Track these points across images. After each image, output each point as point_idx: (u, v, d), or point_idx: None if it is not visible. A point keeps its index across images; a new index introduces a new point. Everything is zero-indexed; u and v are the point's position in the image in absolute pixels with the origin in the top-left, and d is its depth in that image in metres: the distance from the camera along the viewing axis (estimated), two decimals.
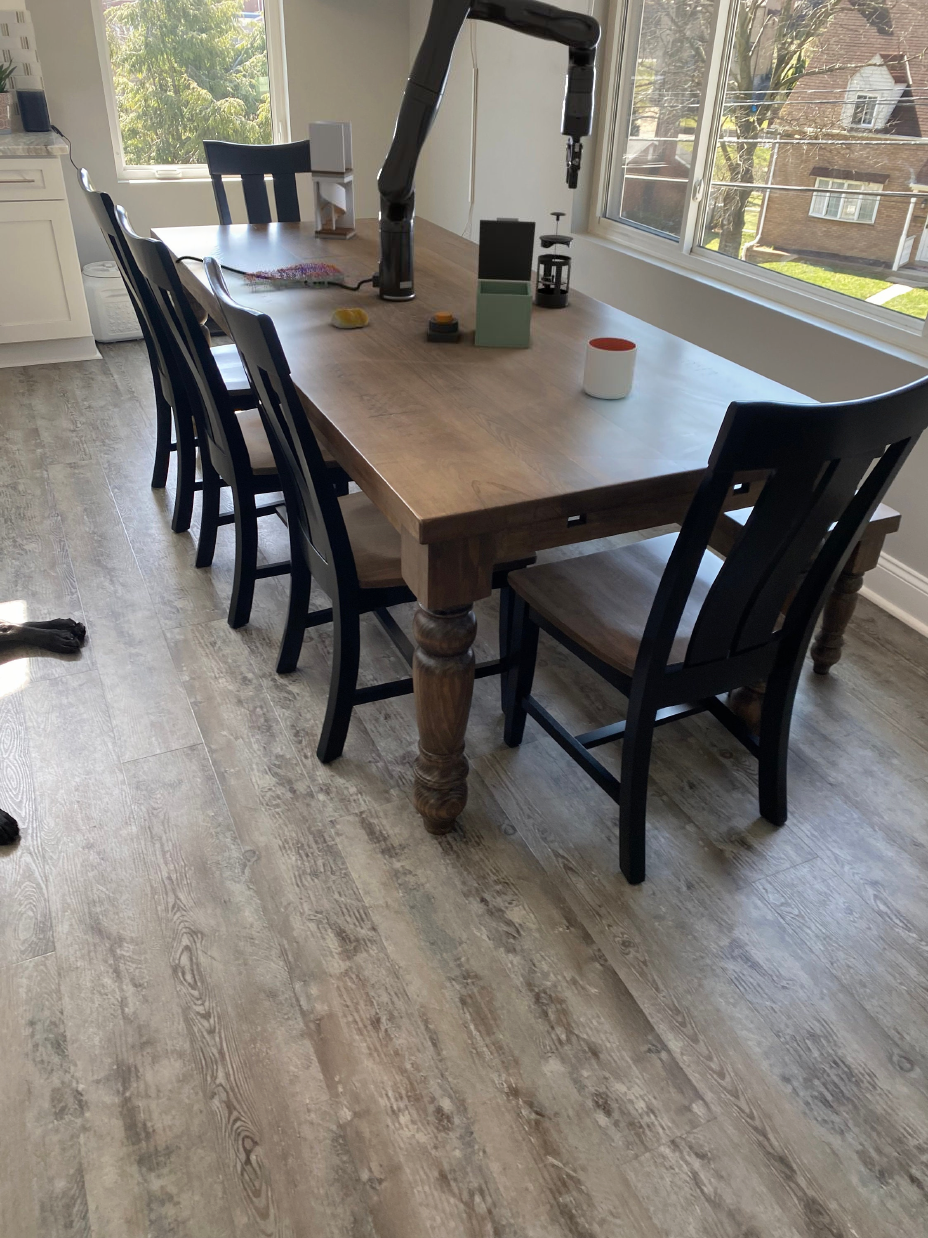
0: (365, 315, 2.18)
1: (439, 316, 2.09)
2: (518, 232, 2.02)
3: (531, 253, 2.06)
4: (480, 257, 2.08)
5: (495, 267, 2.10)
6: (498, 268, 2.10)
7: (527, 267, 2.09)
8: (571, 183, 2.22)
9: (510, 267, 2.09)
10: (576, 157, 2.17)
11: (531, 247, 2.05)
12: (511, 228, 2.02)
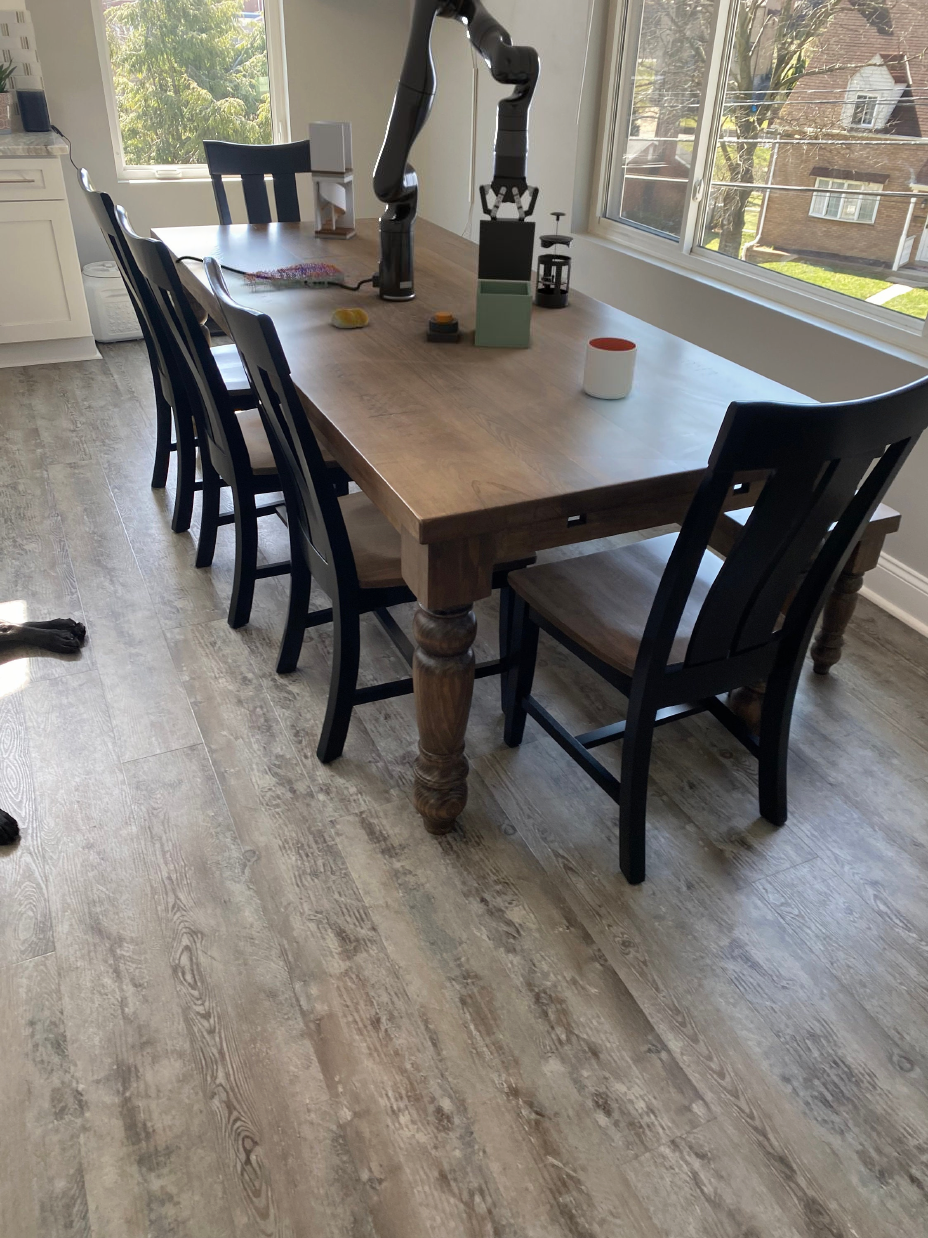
0: (365, 315, 2.18)
1: (439, 316, 2.09)
2: (518, 232, 2.02)
3: (531, 253, 2.06)
4: (480, 257, 2.08)
5: (495, 267, 2.10)
6: (498, 268, 2.10)
7: (527, 267, 2.09)
8: None
9: (510, 267, 2.09)
10: None
11: (531, 247, 2.05)
12: (511, 228, 2.02)
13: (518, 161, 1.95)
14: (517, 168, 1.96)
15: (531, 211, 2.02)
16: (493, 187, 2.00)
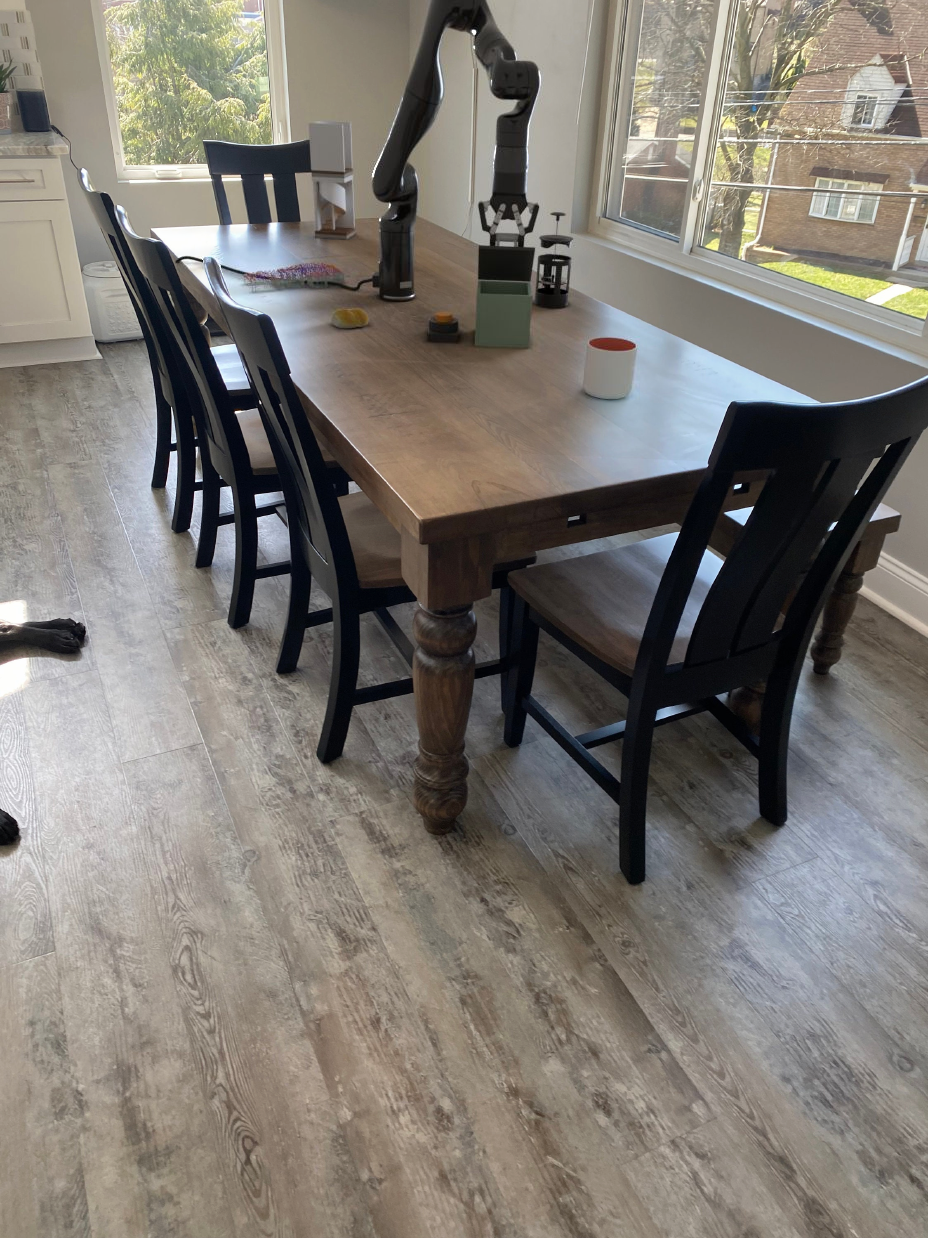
0: (365, 315, 2.18)
1: (439, 316, 2.09)
2: (517, 255, 2.00)
3: (531, 266, 2.05)
4: (480, 268, 2.07)
5: (495, 273, 2.09)
6: (498, 274, 2.09)
7: (527, 274, 2.09)
8: None
9: (510, 274, 2.09)
10: None
11: (531, 263, 2.04)
12: (510, 252, 1.99)
13: (517, 178, 1.91)
14: (517, 185, 1.91)
15: (531, 228, 1.98)
16: (492, 204, 1.96)
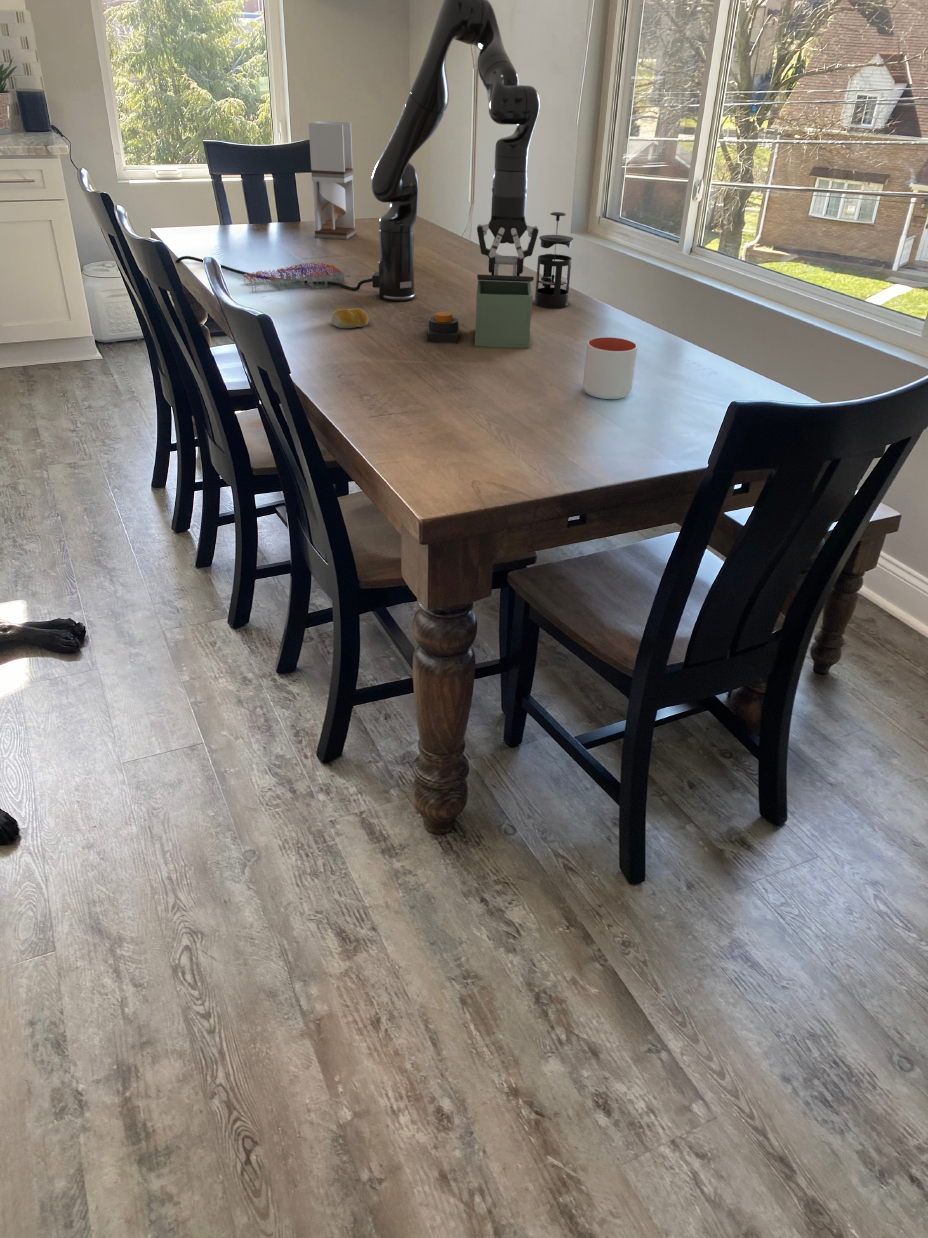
0: (365, 315, 2.18)
1: (439, 316, 2.09)
2: None
3: None
4: (479, 279, 2.07)
5: (495, 280, 2.09)
6: (497, 280, 2.10)
7: (526, 281, 2.09)
8: None
9: None
10: None
11: None
12: None
13: (516, 202, 1.90)
14: (516, 209, 1.91)
15: (530, 252, 1.97)
16: (491, 227, 1.95)
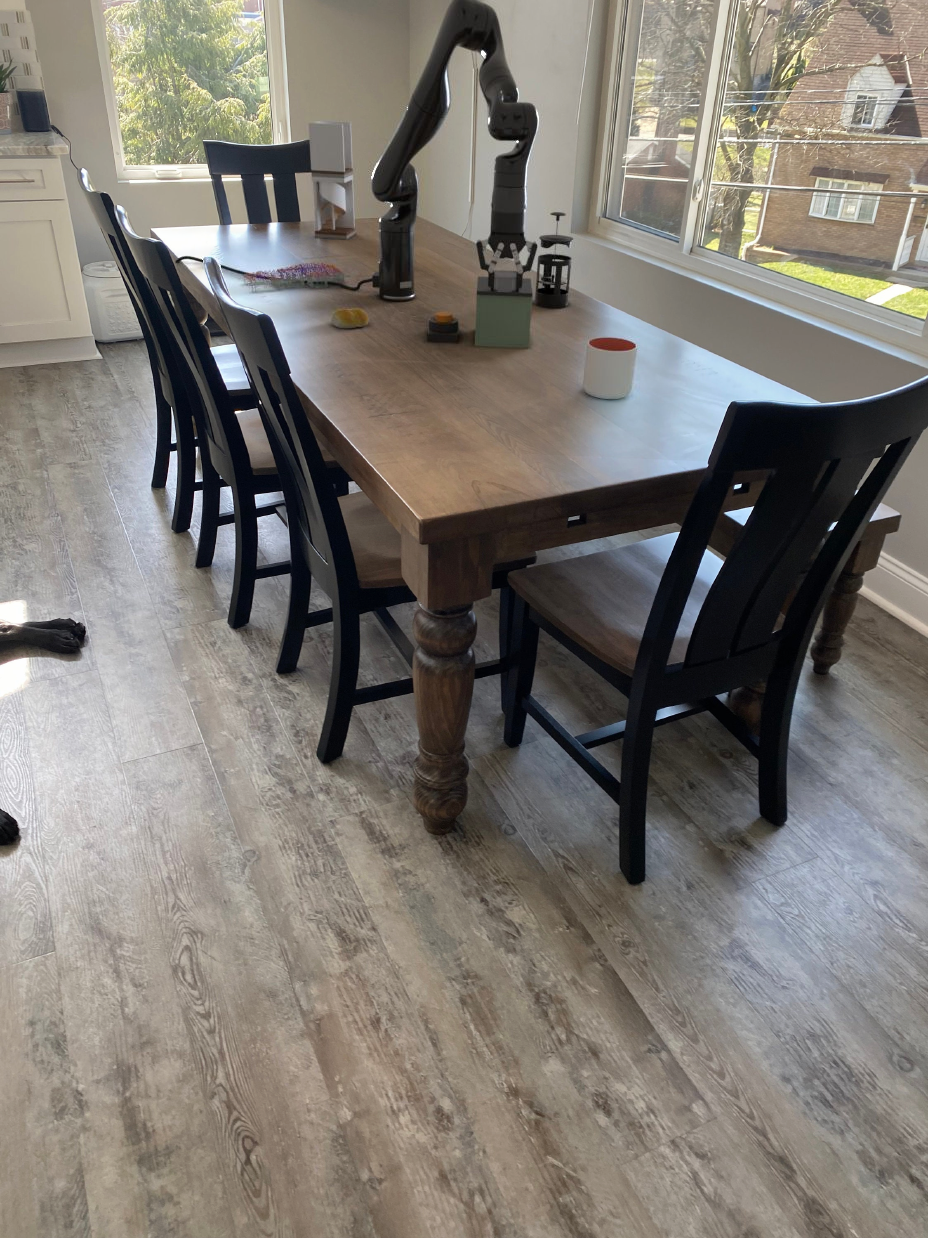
0: (365, 315, 2.18)
1: (439, 316, 2.09)
2: None
3: None
4: None
5: None
6: None
7: None
8: None
9: None
10: None
11: None
12: None
13: (515, 217, 1.91)
14: (515, 225, 1.91)
15: (529, 266, 1.98)
16: (491, 243, 1.96)
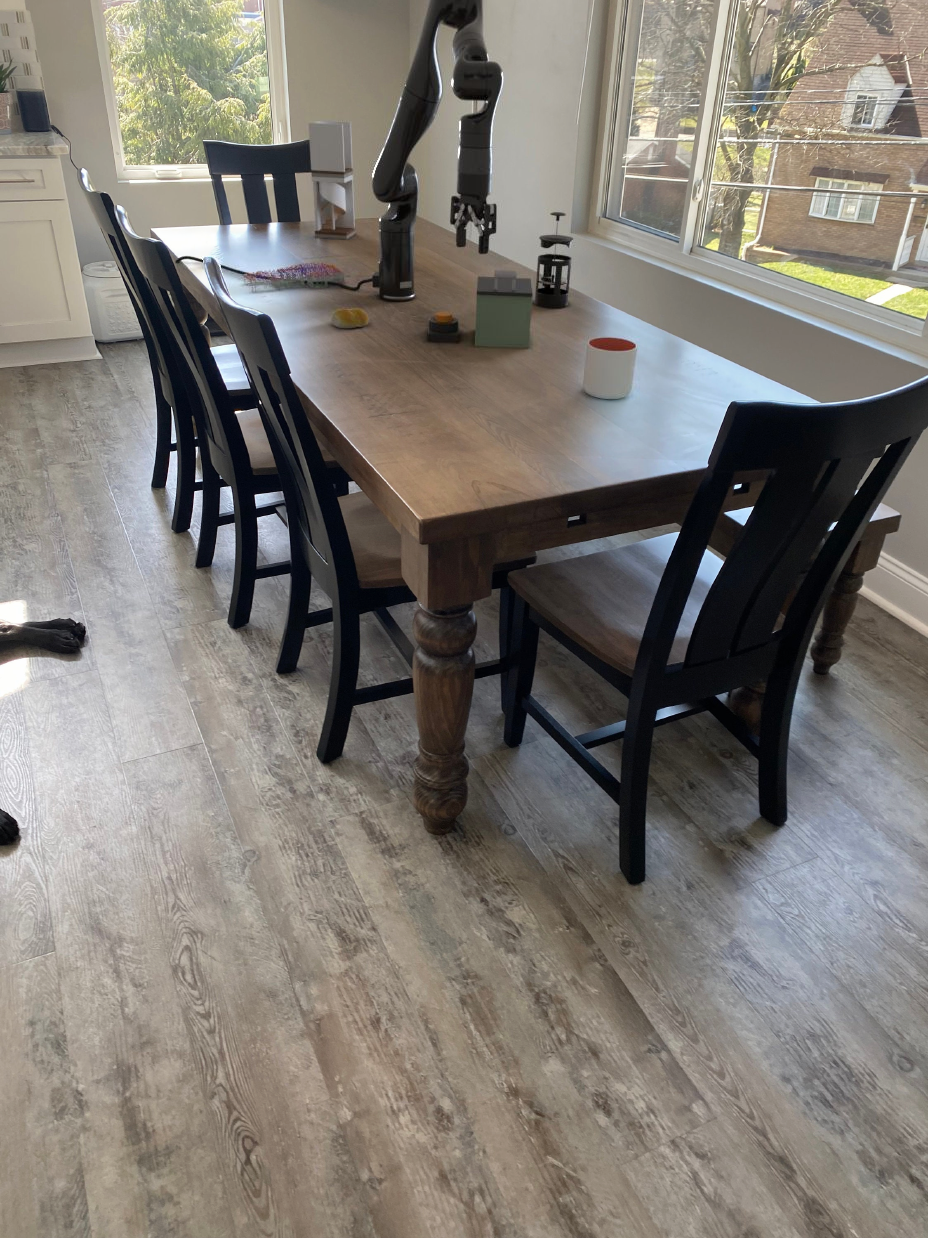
0: (365, 315, 2.18)
1: (439, 316, 2.09)
2: None
3: None
4: None
5: None
6: None
7: None
8: None
9: None
10: None
11: None
12: None
13: (466, 178, 1.89)
14: (465, 186, 1.90)
15: (486, 230, 1.92)
16: (459, 202, 1.97)
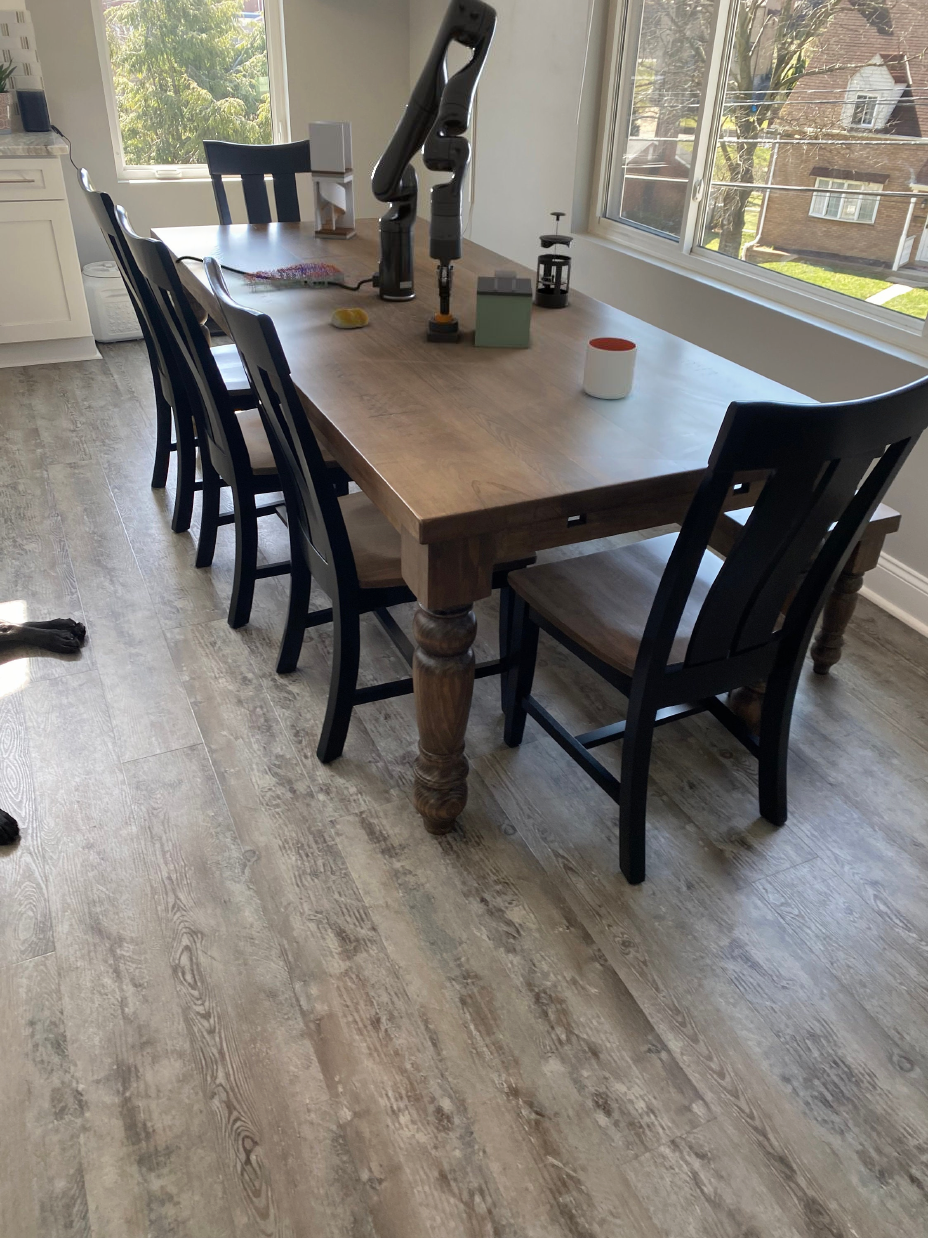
0: (365, 315, 2.18)
1: (439, 316, 2.09)
2: None
3: None
4: None
5: None
6: None
7: None
8: None
9: None
10: None
11: None
12: None
13: (431, 242, 2.01)
14: (430, 249, 2.01)
15: (439, 293, 2.05)
16: None
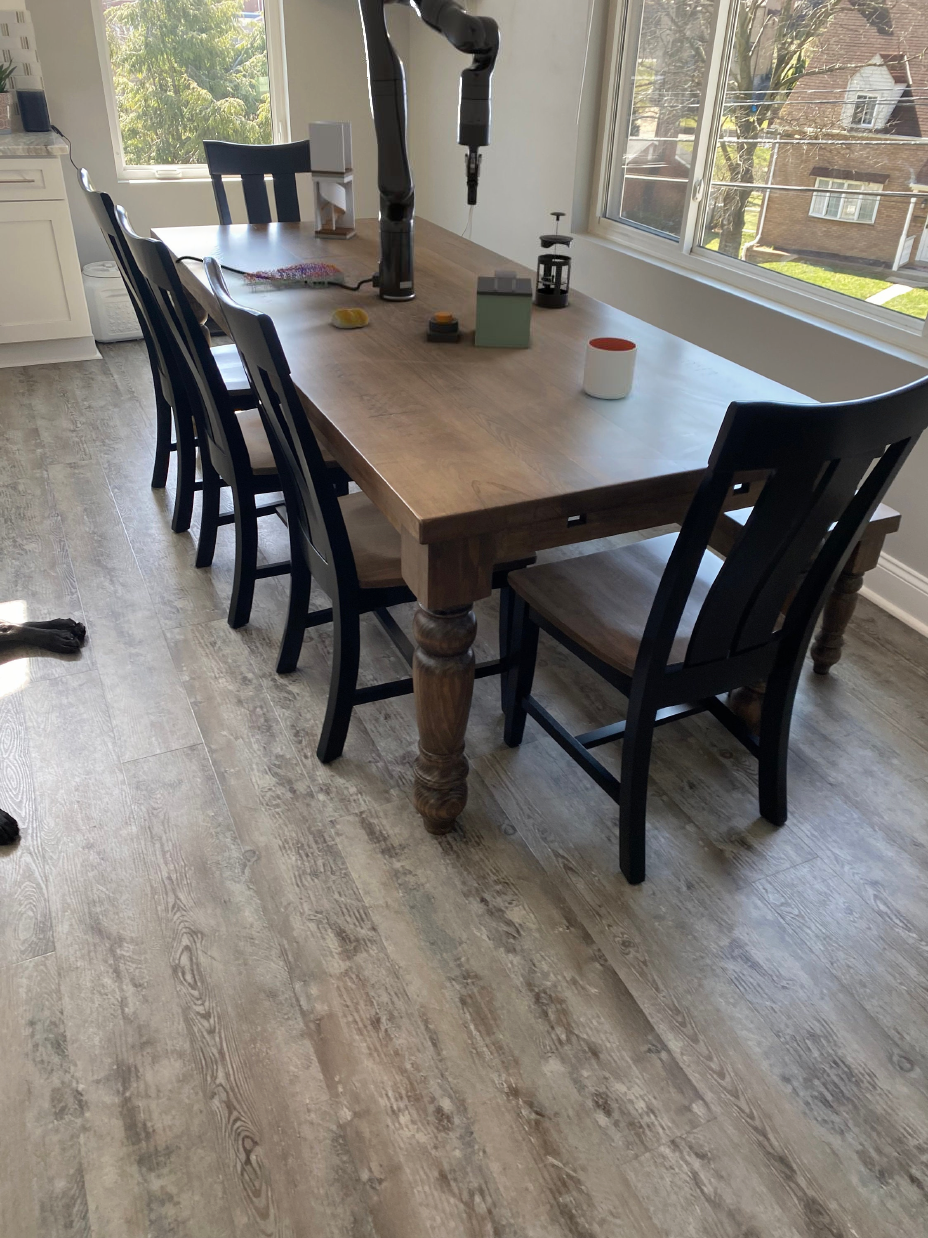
0: (365, 315, 2.18)
1: (439, 316, 2.09)
2: None
3: None
4: None
5: None
6: None
7: None
8: None
9: None
10: None
11: None
12: None
13: (459, 128, 2.02)
14: (459, 135, 2.03)
15: None
16: None
